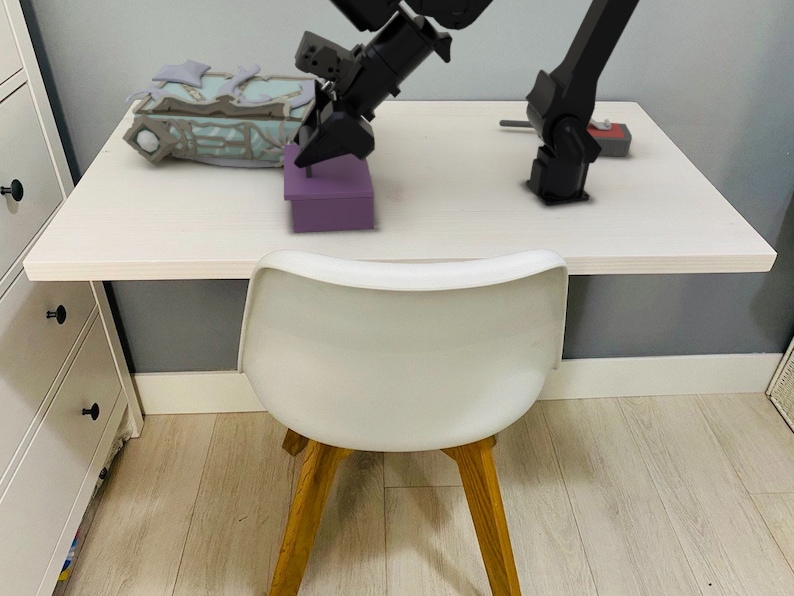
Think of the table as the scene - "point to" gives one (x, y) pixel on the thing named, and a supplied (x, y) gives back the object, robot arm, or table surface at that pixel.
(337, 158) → the lid
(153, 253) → the table surface
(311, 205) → the box
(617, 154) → the walkie-talkie
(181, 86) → the ornate book
